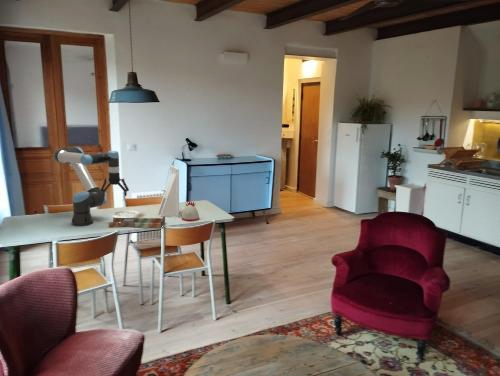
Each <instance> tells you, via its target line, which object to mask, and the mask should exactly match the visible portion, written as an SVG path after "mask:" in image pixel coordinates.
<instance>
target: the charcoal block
mask: <svg viewBox="0 0 500 376" xmlns="http://www.w3.org/2000/svg"><path fill="white" fill-rule="evenodd" d="M123 223H134V219H124V220H123Z"/></svg>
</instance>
